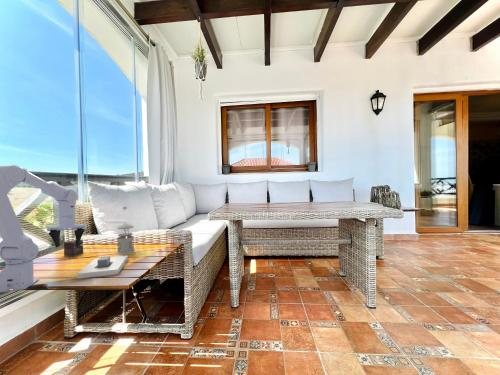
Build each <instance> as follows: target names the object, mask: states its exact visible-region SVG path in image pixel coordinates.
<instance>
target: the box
mask: <svg viewBox="0 0 500 375" xmlns="http://www.w3.org/2000/svg"><path fill="white" fill-rule="evenodd" d="M63 254H64V257H76V256H78V255H81V254H84V240H83V239H81V240H80V244H79V245H78V246H76V239H73V240H67V241H64V242H63Z"/></svg>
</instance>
